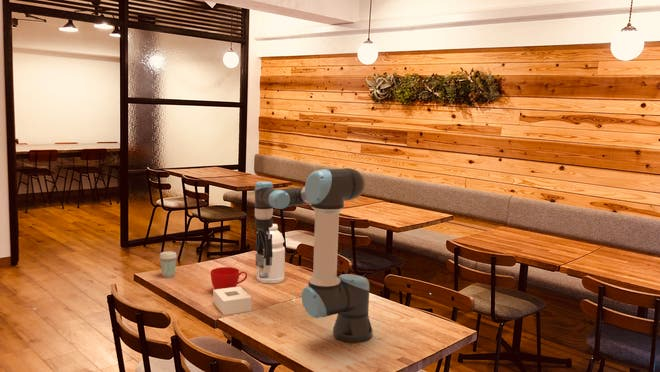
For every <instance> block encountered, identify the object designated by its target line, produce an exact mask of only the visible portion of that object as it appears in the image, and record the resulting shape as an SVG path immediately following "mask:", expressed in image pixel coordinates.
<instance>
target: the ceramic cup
mask: <svg viewBox="0 0 660 372" xmlns="http://www.w3.org/2000/svg"><path fill="white" fill-rule="evenodd" d="M242 274H245V275H244V278H243V279H242V280H239V279H240V276H241V275H242ZM247 277H248V274H247V272H246V271H240V270H239V269H238V268H236V267H232V266H231V267H230V266H224V267H223V266H222V267H216V268H213V269H211V270H210V281H211V285H212V287H213V288H214V290H216V289H224V288H231V287H238V285H240V284H241V283H243V282H244V281H246V279H247Z"/></svg>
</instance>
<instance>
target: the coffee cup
mask: <svg viewBox="0 0 660 372" xmlns="http://www.w3.org/2000/svg"><path fill="white" fill-rule="evenodd" d="M177 257H178V255H177V253H176V252H175V251H162V252H160V253H159V257H158V258H159V261H160V269H161V276H162V278H164V279H171V278H175V275H176V264H177Z"/></svg>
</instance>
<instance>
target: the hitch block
mask: <svg viewBox="0 0 660 372" xmlns="http://www.w3.org/2000/svg"><path fill="white" fill-rule="evenodd" d="M212 293H213V294H212V295H213V297H212V298H213V301H212V304H213V305H214V306H216V308H217V310H219V312H220V314H222V315H223V316H228V315H235V314H242V313H247V312H252V296H251V295H249V293H247V292H246V291H245V290H244V289H243V287H241V286H236V287H231V288H224V289H216V290H215V289H213V290H212Z"/></svg>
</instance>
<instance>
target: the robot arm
mask: <svg viewBox="0 0 660 372" xmlns="http://www.w3.org/2000/svg"><path fill="white" fill-rule="evenodd" d="M365 187H366V181H365V178H364V176H363V174H362V173H361V172H360V171H358V170H357V169H354V168H349V167H347V168H346V167H345V168H329V169H328V168H325V169H324V168H323V169H318V170H315V171H313V172H311V173H310V174H309V175H308V177H307V178H306V181H305V185H304V186H301V187H299V186H298V187H290V188H289V187H288V188H274V185H273V182H272V181H256V182H255V185H254V217H255V219H254V226H255V228H256V229H255V251H256V254H257V253H263V252H264V256H265V257H263V258H264V273H269V272H270V258H271V257H273V255H272V234H270V232H269V228H270V227H272V226H273V224H274V223H273V222H274V221H273V213H274V209H277V210H278V209H279V210H283V209H285V208H287V207H295V206H307V205H310V207H311V208H312V209H313V210H314V236H313V239H314V241H313V242H314V243H313V266H312V267H313V269H312V270H313V271H312V275H311V276H310V277H309V279H308V285H307V286H305V287H304V288H303V290H302V291H301V303H302V306H303V308H304V310H305V312H306V313H307V315H308V316H310V317H311V318H313V319H319V318H320V319H321V318H326V317H329V316H333V315H337V316H336V319H335V322H334V325H333V328H332V336H333V337H334V338H335V339H336V340H339V341H342V342H344V343H345V342H346V343H363V342H364V343H365V342H367V341H369V340H371V338H372V337H373V327H372V324H371V321H370V317H369V308H370V307H369V306H370V305H369V304H370V303H369V302H370V282H369V280H368V279H367V278H366V277H365V276H362V275H358V274H351V273H349V274H348V273H344V274H343V273H342V274H340V275H339V276H337V274H338V273H337V272H338V250H339V230H340V229H339V227H340V225H339V222H340V212H341V211H342V210H344V207H345V206H344V205H345V204H344V203H345V201H351V200H356V199H357V198H358V197H360V196H361V195H362V194H363V192H364V190H365ZM273 208H274V209H273ZM263 249H264V250H263ZM258 268H259V266H258Z"/></svg>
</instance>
